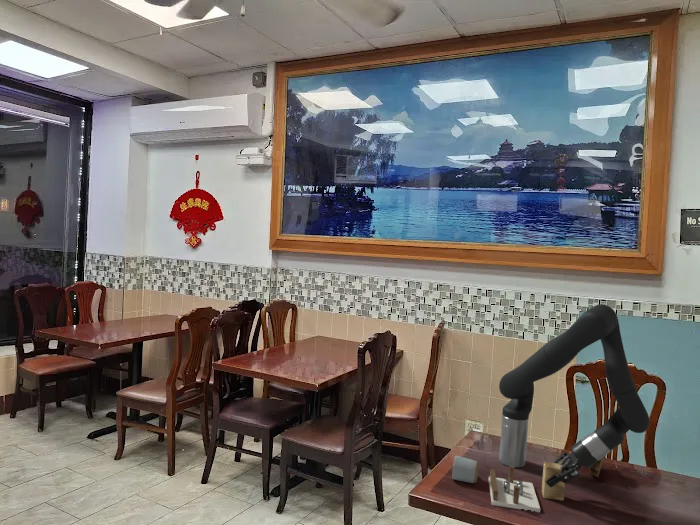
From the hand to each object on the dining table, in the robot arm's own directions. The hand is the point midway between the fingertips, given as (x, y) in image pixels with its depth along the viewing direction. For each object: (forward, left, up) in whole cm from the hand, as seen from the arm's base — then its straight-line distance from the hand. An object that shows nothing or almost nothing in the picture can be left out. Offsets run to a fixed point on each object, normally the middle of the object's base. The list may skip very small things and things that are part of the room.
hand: (547, 481), depth 164 cm
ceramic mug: (+7, -25, -5) cm, 26 cm away
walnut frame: (+9, -11, -4) cm, 14 cm away
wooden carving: (-30, +9, -5) cm, 31 cm away
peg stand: (+7, -8, -5) cm, 12 cm away
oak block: (-1, +2, -5) cm, 5 cm away
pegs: (+7, -8, -4) cm, 12 cm away
